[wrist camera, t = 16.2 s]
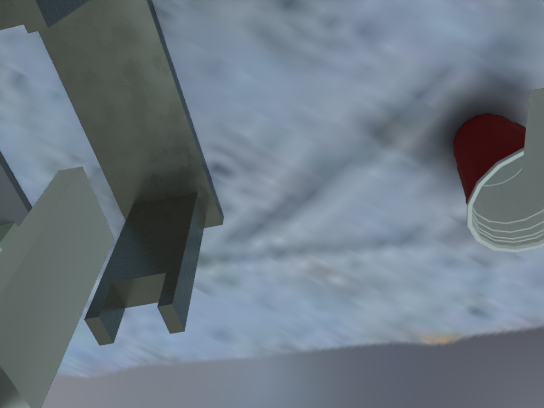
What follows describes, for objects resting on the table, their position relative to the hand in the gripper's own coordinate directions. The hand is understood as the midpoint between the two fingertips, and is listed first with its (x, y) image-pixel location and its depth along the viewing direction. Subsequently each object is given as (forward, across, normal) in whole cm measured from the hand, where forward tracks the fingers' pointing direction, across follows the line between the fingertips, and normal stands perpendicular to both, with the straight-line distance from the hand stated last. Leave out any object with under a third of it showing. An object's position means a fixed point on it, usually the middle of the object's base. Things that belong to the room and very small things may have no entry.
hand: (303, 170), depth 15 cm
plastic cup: (+34, +17, -19) cm, 42 cm away
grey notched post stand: (+33, -16, -8) cm, 38 cm away
